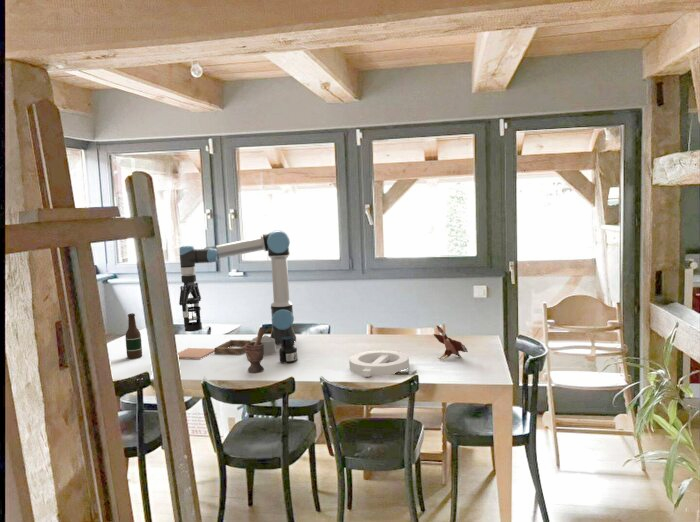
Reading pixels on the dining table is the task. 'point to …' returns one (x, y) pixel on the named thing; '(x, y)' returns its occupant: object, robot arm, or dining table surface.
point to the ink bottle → (288, 350)
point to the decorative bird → (449, 344)
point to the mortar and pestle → (255, 353)
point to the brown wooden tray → (226, 350)
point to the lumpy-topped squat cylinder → (267, 344)
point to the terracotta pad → (195, 353)
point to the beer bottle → (133, 339)
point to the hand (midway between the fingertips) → (191, 315)
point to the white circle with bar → (378, 363)
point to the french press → (192, 325)
